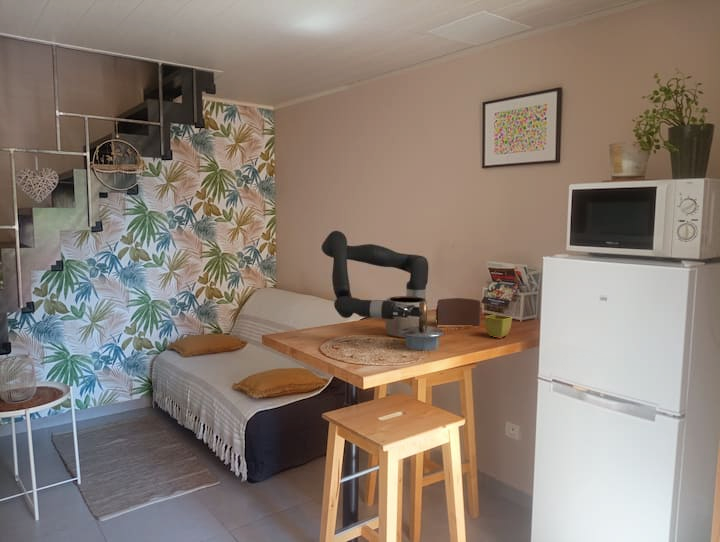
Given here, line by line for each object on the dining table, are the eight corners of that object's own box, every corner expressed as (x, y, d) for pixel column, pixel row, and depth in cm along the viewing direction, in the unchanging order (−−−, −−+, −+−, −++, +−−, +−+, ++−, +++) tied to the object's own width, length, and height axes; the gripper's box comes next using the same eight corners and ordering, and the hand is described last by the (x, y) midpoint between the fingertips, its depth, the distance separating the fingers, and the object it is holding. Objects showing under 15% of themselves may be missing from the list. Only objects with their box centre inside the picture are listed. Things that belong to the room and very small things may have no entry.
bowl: (427, 341, 227) (428, 328, 226) (443, 348, 215) (443, 335, 215) (401, 344, 222) (401, 331, 221) (416, 351, 211) (416, 337, 210)
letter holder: (479, 328, 254) (480, 298, 252) (436, 327, 255) (437, 298, 254) (477, 324, 264) (478, 295, 262) (435, 323, 265) (436, 294, 264)
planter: (402, 340, 228) (402, 303, 226) (377, 332, 243) (378, 297, 241) (434, 335, 238) (435, 300, 236) (408, 328, 253) (409, 294, 251)
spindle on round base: (431, 327, 229) (432, 297, 228) (451, 336, 213) (452, 303, 212) (394, 330, 223) (394, 299, 222) (412, 339, 207) (413, 306, 206)
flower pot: (512, 337, 237) (513, 316, 236) (502, 340, 230) (503, 319, 229) (493, 334, 243) (494, 314, 242) (483, 337, 236) (484, 316, 235)
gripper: (378, 303, 215) (419, 305, 210) (387, 297, 228) (425, 300, 224) (378, 321, 216) (418, 324, 211) (386, 315, 229) (425, 318, 224)
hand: (422, 312), depth 217 cm, fingers open, 8 cm apart
